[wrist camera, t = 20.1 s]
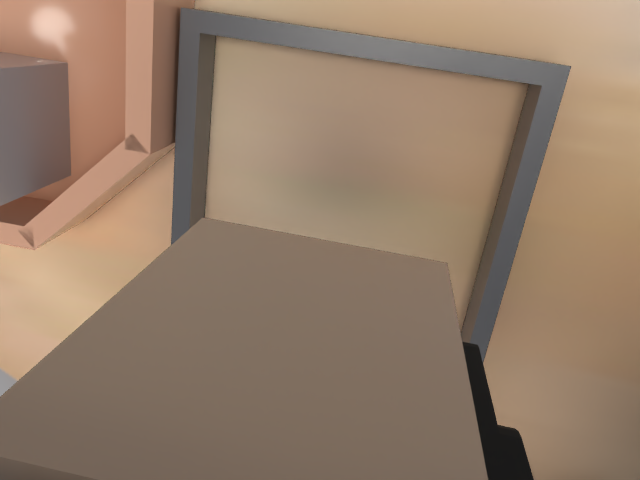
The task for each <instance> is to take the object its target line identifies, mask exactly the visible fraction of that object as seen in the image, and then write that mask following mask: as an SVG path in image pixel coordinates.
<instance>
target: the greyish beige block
mask: <svg viewBox="0 0 640 480" xmlns="http://www.w3.org/2000/svg"><path fill="white" fill-rule="evenodd" d="M0 480H488V477H487V471H486V466H485V461H484V455H483V450H482V445H481V439H480V434H479V429H478V423H477V418H476V413H475V407H474V402H473V397H472V391H471V386H470V381H469V376H468V370H467V365H466V360H465V354H464V349H463V344H462V338H461V333H460V328H459V322H458V317H457V312H456V306H455V301H454V296H453V290H452V285H451V280H450V274H449V269H448V264H447V263H444V262H439V261H434V260H428V259H423V258H418V257H412V256H407V255H401V254H396V253H391V252H385V251H380V250H375V249H369V248H364V247H359V246H353V245H348V244H342V243H337V242H332V241H326V240H321V239H316V238H310V237H305V236H299V235H294V234H289V233H283V232H278V231H273V230H267V229H262V228H257V227H251V226H246V225H240V224H235V223H230V222H224V221H219V220H214V219H208V218H201V219H200V220H199V221H198V222H197V223H196V224H195V225H193V226H192V227H191V228H190V229H189V230H188V231H187V232H186V233H184V234H183V235H182V236H181V237H180V238H179V239H178V240H177V241H175V242H174V243H173V244H172V245H171V246H170V247H169V248H168V249H166V250H165V251H164V252H163V253H162V254H161V255H160V256H159V257H157V258H156V259H155V260H154V261H153V262H152V263H151V264H150V265H148V266H147V267H146V268H145V269H144V270H143V271H142V272H140V273H139V274H138V275H137V276H136V277H135V278H134V279H133V280H131V281H130V282H129V283H128V284H127V285H126V286H125V287H124V288H122V289H121V290H120V291H119V292H118V293H117V294H116V295H115V296H113V297H112V298H111V299H110V300H109V301H108V302H107V303H106V304H104V305H103V306H102V307H101V308H100V309H99V310H98V311H96V312H95V313H94V314H93V315H92V316H91V317H90V318H89V319H87V320H86V321H85V322H84V323H83V324H82V325H81V326H80V327H78V328H77V329H76V330H75V331H74V332H73V333H72V334H71V335H69V336H68V337H67V338H66V339H65V340H64V341H63V342H62V343H60V344H59V345H58V346H57V347H56V348H55V349H54V350H52V351H51V352H50V353H49V354H48V355H47V356H46V357H45V358H43V359H42V360H41V361H40V362H39V363H38V364H37V365H36V366H34V367H33V368H32V369H31V370H30V371H29V372H28V373H27V374H25V375H24V376H23V377H22V378H21V379H20V380H19V381H18V382H16V383H15V384H14V385H13V386H12V387H11V388H10V389H8V390H7V391H6V392H5V393H4V394H3V395H2V396H1V397H0Z"/></svg>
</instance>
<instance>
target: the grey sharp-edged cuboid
mask: <svg viewBox="0 0 640 480" xmlns="http://www.w3.org/2000/svg"><path fill="white" fill-rule="evenodd" d="M69 176H71V150H70V116H69V83H68V63H67V62H61V61H55V60H49V59H43V58H36V57H30V56H24V55H18V54H12V53H6V52H0V206H1V205H4V204H6V203H8V202H11V201H13V200H15V199H18V198H20V197H22V196H25V195H27V194H29V193H32V192H34V191H36V190H39V189H41V188H43V187H45V186H48V185H50V184H52V183H55V182H57V181H59V180H62V179H64V178H66V177H69Z"/></svg>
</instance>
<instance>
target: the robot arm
mask: <svg viewBox="0 0 640 480" xmlns="http://www.w3.org/2000/svg"><path fill="white" fill-rule="evenodd" d="M462 344H463V349H464V354H465V360H466V365H467V370H468V376H469V381H470V386H471V391H472V397H473V402H474V407H475V413H476V418H477V423H478V429H479V434H480V439H481V445H482V450H483V455H484V461H485V466H486V471H487V477H488V480H534V479H533V476H532V472H531V469H530V465H529V462H528V459H527V455H526V452H525V448H524V445H523V441H522V438H521V436H520V433H519V431H517V430H516V429H515V428H510V427H505V426H500V425H497V421H496V417H495V412H494V408H493V404H492V400H491V396H490V391H489V387H488V383H487V379H486V375H485V370H484V366H483V362H482V358H481V354H480V349H479V346H478V345H477V344H472V343H467V342H462Z"/></svg>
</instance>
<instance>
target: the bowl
mask: <svg viewBox="0 0 640 480" xmlns="http://www.w3.org/2000/svg"><path fill="white" fill-rule="evenodd" d="M181 8H189V9H194V0H0V52H6V53H12V54H18V55H24V56H30V57H36V58H43V59H49V60H55V61H61V62H67V63H68V83H69V116H70V150H71V176H69V177H66V178H64V179H62V180H59V181H57V182H55V183H52V184H50V185H48V186H45V187H43V188H41V189H39V190H36V191H34V192H32V193H29V194H27V195H25V196H22V197H20V198H18V199H15V200H13V201H11V202H8V203H6V204H4V205H1V206H0V244H6V245H11V246H16V247H22V248H27V249H32V250H35V249H37V248H39V247H41V246H42V245H44V244H46V243H47V242H49V241H51V240H52V239H54V238H56V237H57V236H59V235H61V234H62V233H64V232H66V231H67V230H69V229H71V228H73V227H74V226H76V225H78V224H79V223H81V222H83V221H84V220H86V219H87V218H88V217H90V216H91V215H92V214H93V213H94V212H96V211H97V210H98V209H99V208H101V207H102V206H103V205H104V204H105V203H107V202H108V201H109V200H110V199H112V198H113V197H114V196H115V195H116V194H118V193H119V192H120V191H121V190H123V189H124V188H125V187H126V186H127V185H129V184H130V183H131V182H132V181H134V180H135V179H136V178H137V177H138V176H140V175H141V174H142V173H143V172H145V171H146V170H147V169H148V168H149V167H151V166H152V165H153V164H154V163H156V162H157V161H158V160H159V159H160V158H162V157H163V156H164V155H165V154H167V153H168V152H169V151H170V150H171V149H173V148H174V147H175V137H176V112H177V87H178V62H179V37H180V12H181Z"/></svg>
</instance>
